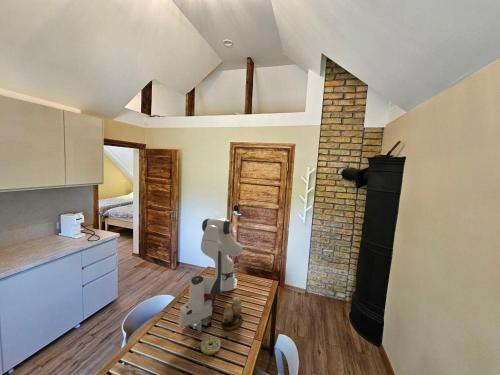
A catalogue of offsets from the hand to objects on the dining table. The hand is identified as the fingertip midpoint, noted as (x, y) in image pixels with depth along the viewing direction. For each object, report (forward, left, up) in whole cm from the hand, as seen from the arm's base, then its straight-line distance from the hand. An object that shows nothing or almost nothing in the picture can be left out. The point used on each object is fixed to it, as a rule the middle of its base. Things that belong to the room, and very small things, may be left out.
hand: (195, 327), depth 130 cm
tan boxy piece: (-11, -3, -5) cm, 13 cm away
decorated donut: (+6, +12, -6) cm, 15 cm away
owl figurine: (-17, +18, -6) cm, 25 cm away
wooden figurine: (-24, -2, -5) cm, 24 cm away
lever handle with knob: (-4, -3, -5) cm, 7 cm away
